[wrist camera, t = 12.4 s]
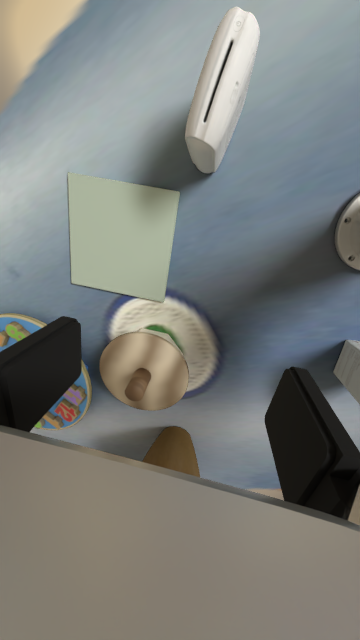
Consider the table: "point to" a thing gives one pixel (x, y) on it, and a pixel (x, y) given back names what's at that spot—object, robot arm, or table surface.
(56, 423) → the shape sorting clock
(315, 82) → the table surface
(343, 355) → the supplement box
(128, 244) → the mat
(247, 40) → the photo printer
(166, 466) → the plant pot
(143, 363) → the lid
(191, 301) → the table surface
